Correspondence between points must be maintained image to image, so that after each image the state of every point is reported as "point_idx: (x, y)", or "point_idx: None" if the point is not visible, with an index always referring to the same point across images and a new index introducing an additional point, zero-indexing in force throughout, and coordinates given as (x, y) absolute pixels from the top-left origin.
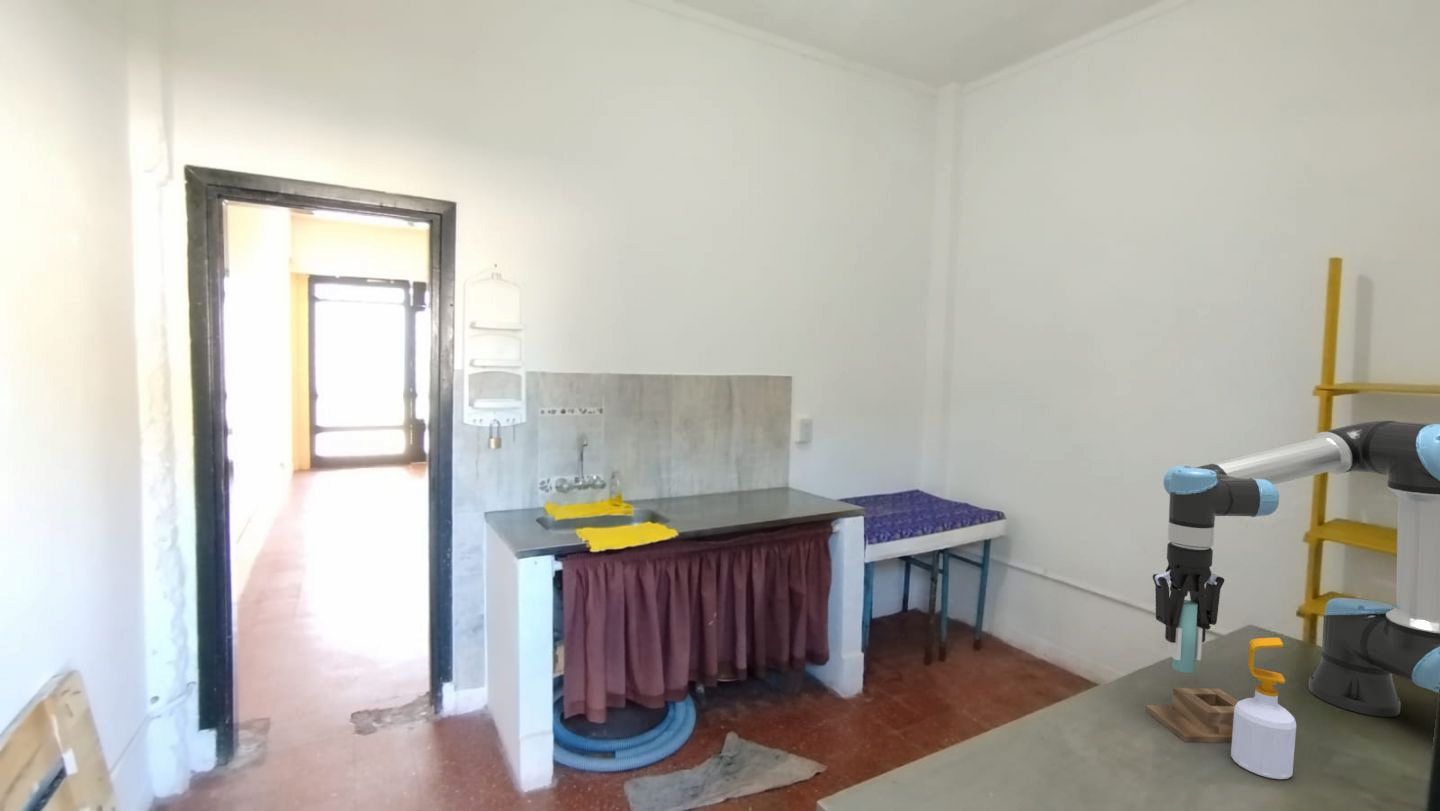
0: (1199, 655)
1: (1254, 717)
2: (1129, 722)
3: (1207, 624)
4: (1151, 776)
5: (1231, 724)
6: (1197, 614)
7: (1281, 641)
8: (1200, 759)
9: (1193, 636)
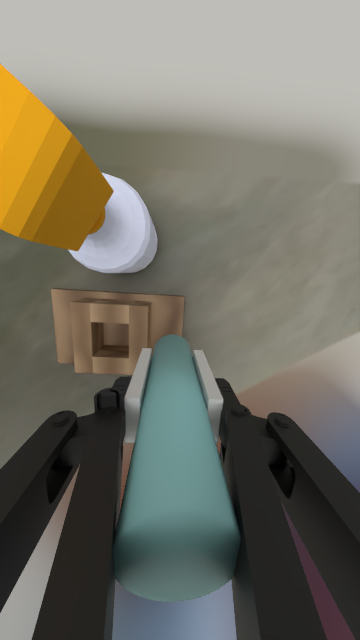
0: (145, 352)
1: (141, 203)
2: (220, 340)
3: (95, 412)
4: (284, 227)
5: (115, 301)
6: (120, 464)
7: None
8: (194, 259)
9: (167, 376)
